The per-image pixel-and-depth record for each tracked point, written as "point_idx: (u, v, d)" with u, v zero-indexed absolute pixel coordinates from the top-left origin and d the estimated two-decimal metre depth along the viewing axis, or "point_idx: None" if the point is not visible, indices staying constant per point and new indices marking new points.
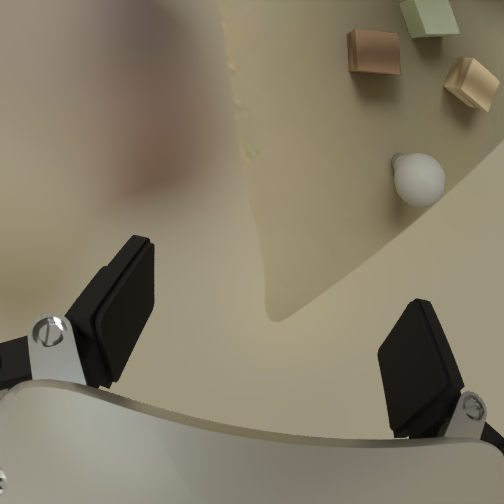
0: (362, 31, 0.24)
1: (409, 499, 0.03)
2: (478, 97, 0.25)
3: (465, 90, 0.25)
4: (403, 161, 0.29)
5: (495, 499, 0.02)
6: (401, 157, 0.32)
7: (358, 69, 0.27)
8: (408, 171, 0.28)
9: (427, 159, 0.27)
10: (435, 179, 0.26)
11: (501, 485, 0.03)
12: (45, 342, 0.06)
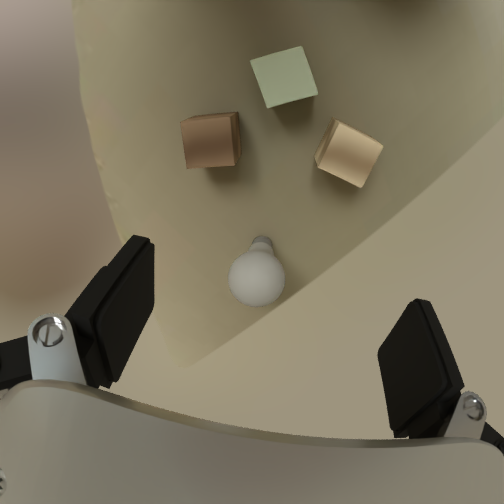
0: (188, 123, 0.28)
1: (409, 499, 0.03)
2: (346, 172, 0.29)
3: (325, 167, 0.29)
4: (233, 262, 0.32)
5: (495, 499, 0.02)
6: (252, 246, 0.36)
7: (187, 167, 0.30)
8: (232, 276, 0.31)
9: (254, 263, 0.30)
10: (259, 286, 0.30)
11: (501, 485, 0.03)
12: (45, 342, 0.06)
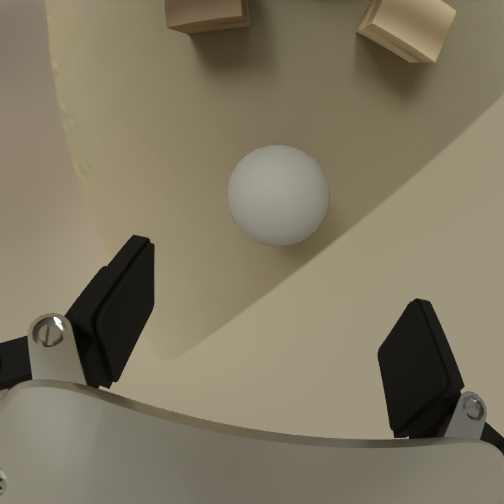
0: None
1: (409, 499, 0.03)
2: (412, 36, 0.14)
3: (383, 24, 0.14)
4: (237, 164, 0.17)
5: (495, 499, 0.02)
6: None
7: (168, 25, 0.15)
8: (235, 183, 0.16)
9: (277, 156, 0.16)
10: (287, 196, 0.15)
11: (501, 485, 0.03)
12: (45, 342, 0.06)
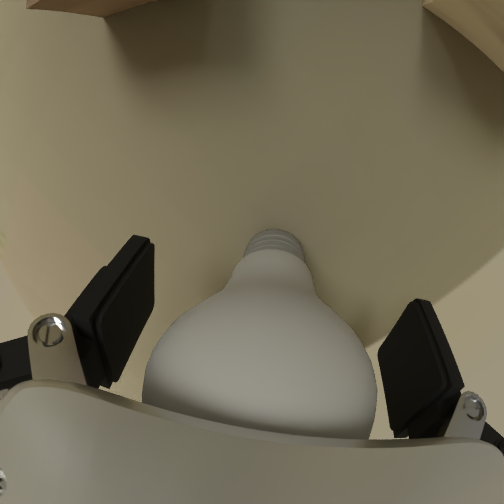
0: None
1: (409, 499, 0.03)
2: None
3: None
4: (157, 345, 0.07)
5: (495, 499, 0.02)
6: (244, 263, 0.11)
7: (29, 4, 0.05)
8: None
9: (252, 383, 0.05)
10: None
11: (501, 485, 0.03)
12: (45, 342, 0.06)
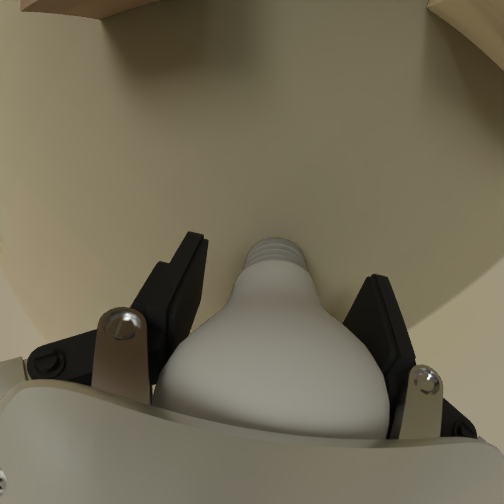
0: None
1: (409, 499, 0.03)
2: None
3: None
4: (165, 370, 0.06)
5: (495, 499, 0.02)
6: (248, 275, 0.10)
7: (23, 7, 0.05)
8: None
9: (271, 411, 0.05)
10: None
11: (501, 485, 0.03)
12: (115, 334, 0.06)
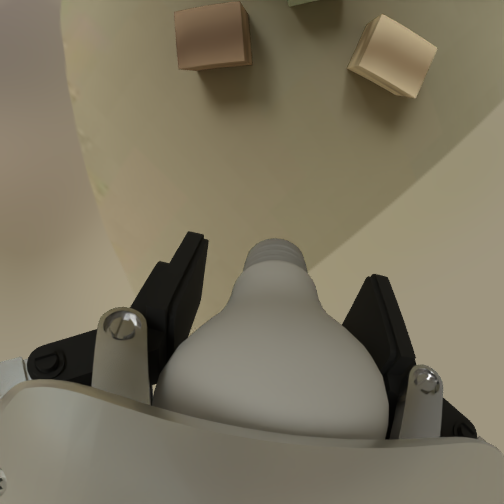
0: (184, 12, 0.17)
1: (409, 499, 0.03)
2: (395, 75, 0.18)
3: (369, 66, 0.18)
4: (166, 370, 0.06)
5: (495, 499, 0.02)
6: (247, 276, 0.10)
7: (179, 67, 0.19)
8: None
9: (271, 412, 0.05)
10: None
11: (501, 485, 0.03)
12: (115, 334, 0.06)
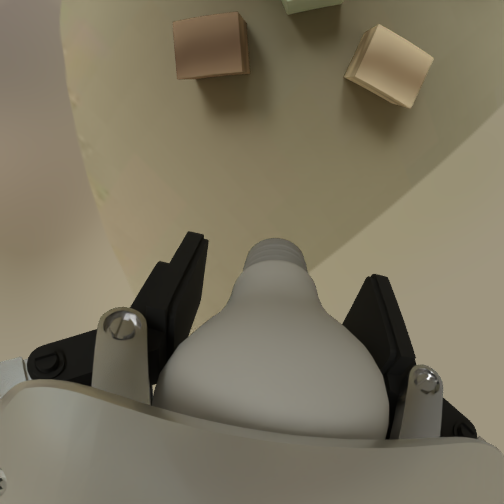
0: (182, 22, 0.18)
1: (409, 499, 0.03)
2: (390, 85, 0.18)
3: (364, 77, 0.18)
4: (166, 370, 0.06)
5: (495, 499, 0.02)
6: (247, 276, 0.10)
7: (178, 77, 0.20)
8: None
9: (271, 411, 0.05)
10: None
11: (501, 485, 0.03)
12: (115, 334, 0.06)
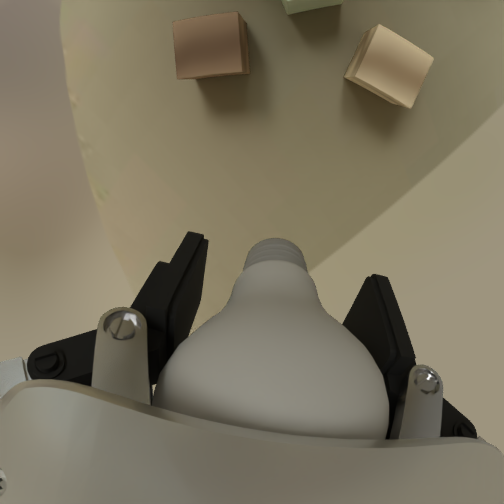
0: (182, 22, 0.18)
1: (409, 499, 0.03)
2: (391, 85, 0.18)
3: (365, 77, 0.18)
4: (166, 370, 0.06)
5: (495, 499, 0.02)
6: (247, 276, 0.10)
7: (178, 77, 0.20)
8: None
9: (271, 411, 0.05)
10: None
11: (501, 485, 0.03)
12: (115, 334, 0.06)
